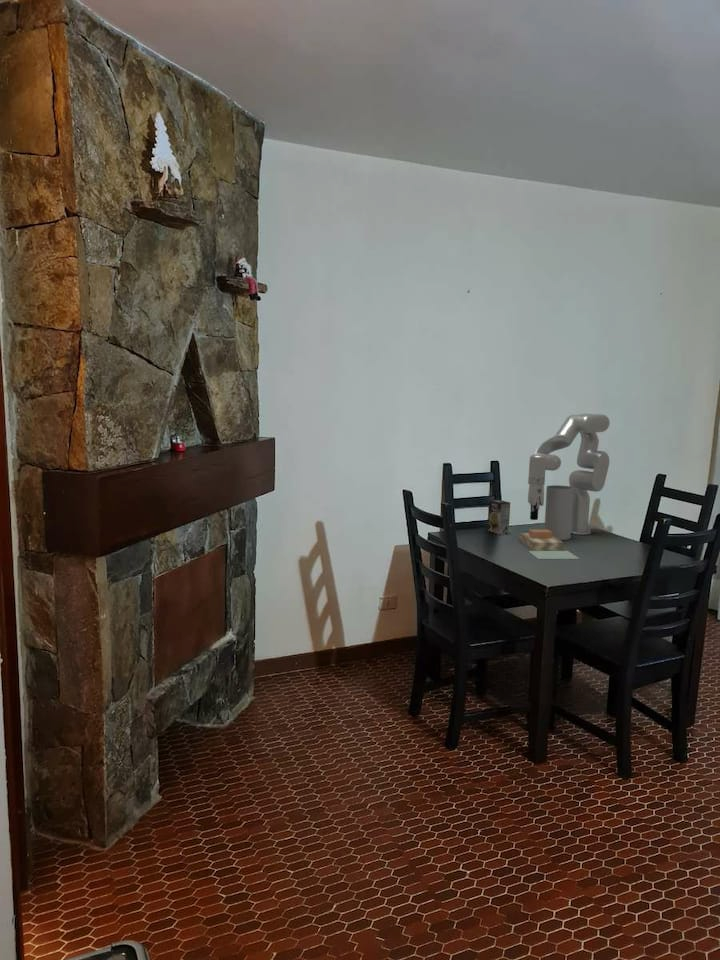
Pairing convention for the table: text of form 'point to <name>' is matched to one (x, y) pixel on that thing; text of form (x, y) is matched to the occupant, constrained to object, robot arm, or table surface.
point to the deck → (541, 543)
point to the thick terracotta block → (540, 533)
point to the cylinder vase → (559, 511)
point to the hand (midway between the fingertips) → (533, 519)
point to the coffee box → (499, 516)
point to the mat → (553, 555)
